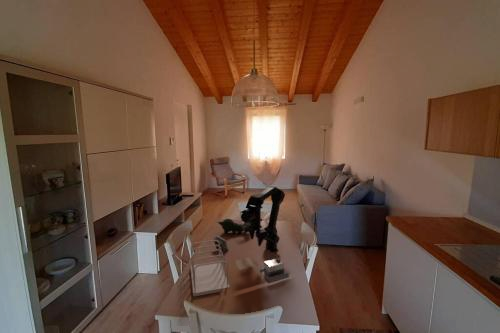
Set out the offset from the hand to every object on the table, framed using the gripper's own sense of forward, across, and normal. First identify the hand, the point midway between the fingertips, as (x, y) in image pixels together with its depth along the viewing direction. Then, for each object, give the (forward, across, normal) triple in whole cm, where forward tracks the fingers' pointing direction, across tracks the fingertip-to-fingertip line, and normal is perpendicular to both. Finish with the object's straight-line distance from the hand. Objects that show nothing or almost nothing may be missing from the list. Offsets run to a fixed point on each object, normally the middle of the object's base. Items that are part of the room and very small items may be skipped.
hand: (255, 242), depth 143 cm
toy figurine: (+12, -42, +5) cm, 44 cm away
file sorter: (+12, +4, -30) cm, 33 cm away
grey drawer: (+10, +17, +2) cm, 20 cm away
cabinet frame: (+12, +17, +2) cm, 21 cm away
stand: (+12, +1, -7) cm, 14 cm away
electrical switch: (+12, -21, -14) cm, 28 cm away
